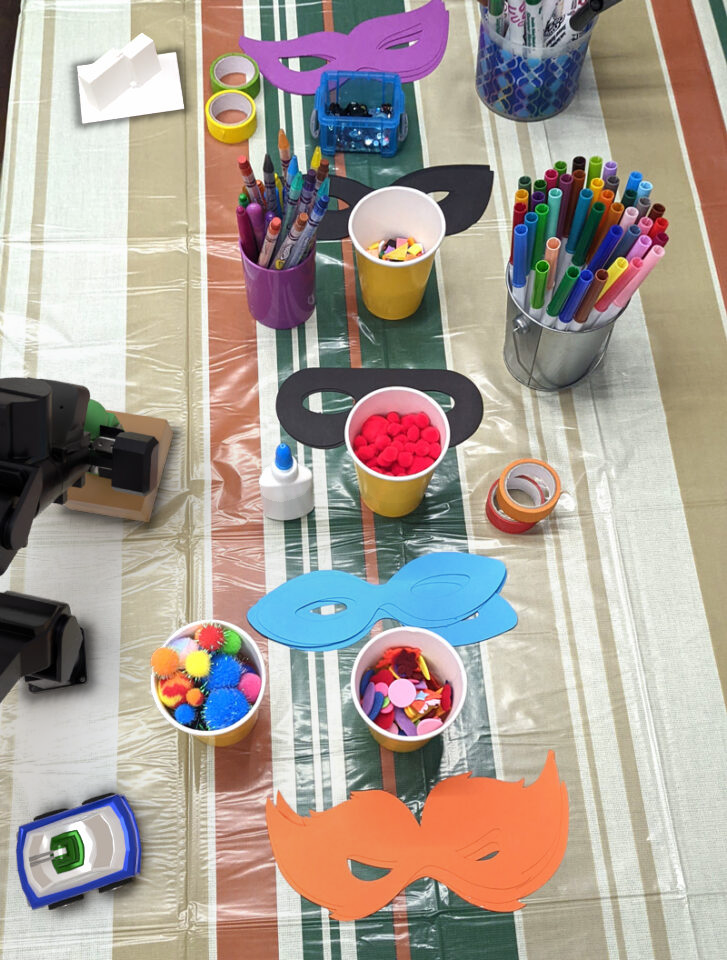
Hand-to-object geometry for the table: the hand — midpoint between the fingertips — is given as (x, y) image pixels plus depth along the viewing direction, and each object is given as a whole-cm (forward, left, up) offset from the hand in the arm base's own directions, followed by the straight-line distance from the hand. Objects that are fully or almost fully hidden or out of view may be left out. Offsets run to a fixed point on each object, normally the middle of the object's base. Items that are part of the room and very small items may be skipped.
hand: (101, 424), depth 100 cm
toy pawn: (-1, +1, -7) cm, 7 cm away
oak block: (-1, +1, -11) cm, 11 cm away
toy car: (-44, +8, -11) cm, 46 cm away
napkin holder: (+60, -5, -11) cm, 61 cm away
